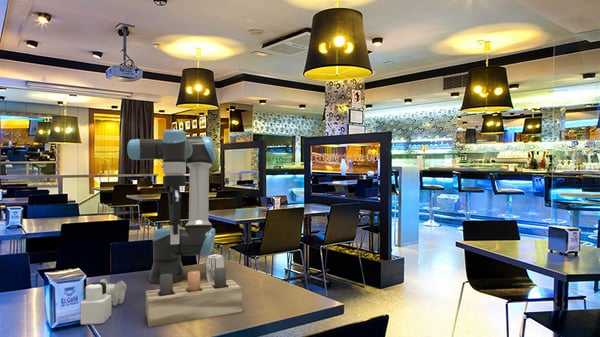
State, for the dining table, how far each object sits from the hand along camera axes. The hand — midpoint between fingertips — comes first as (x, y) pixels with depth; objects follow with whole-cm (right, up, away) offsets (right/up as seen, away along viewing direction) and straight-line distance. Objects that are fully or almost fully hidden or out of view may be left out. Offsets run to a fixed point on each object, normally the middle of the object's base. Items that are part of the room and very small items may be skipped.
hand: (174, 243), depth 139 cm
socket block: (+7, -23, -1) cm, 24 cm away
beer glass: (+10, -24, +19) cm, 32 cm away
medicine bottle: (-24, -24, -6) cm, 34 cm away
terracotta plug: (+7, -17, -1) cm, 19 cm away
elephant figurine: (-26, -24, +9) cm, 37 cm away
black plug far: (+15, -17, +3) cm, 23 cm away
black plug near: (-1, -17, -5) cm, 18 cm away
